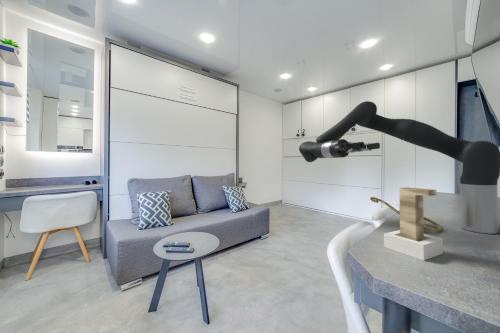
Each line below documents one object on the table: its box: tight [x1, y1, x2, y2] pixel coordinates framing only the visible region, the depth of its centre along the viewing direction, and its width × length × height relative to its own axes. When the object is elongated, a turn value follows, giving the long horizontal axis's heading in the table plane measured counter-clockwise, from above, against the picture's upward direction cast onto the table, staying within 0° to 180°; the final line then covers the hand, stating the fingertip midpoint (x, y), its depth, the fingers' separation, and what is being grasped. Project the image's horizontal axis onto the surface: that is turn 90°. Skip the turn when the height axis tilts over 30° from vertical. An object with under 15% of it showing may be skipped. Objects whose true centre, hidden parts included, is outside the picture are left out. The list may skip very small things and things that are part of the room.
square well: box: [383, 229, 444, 261], centre depth 58 cm, size 10×10×4 cm
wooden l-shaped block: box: [399, 186, 437, 242], centre depth 57 cm, size 4×7×18 cm, turn 24°
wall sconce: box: [369, 196, 442, 232], centre depth 83 cm, size 14×10×25 cm
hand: (371, 145), depth 71 cm, fingers open, 8 cm apart
